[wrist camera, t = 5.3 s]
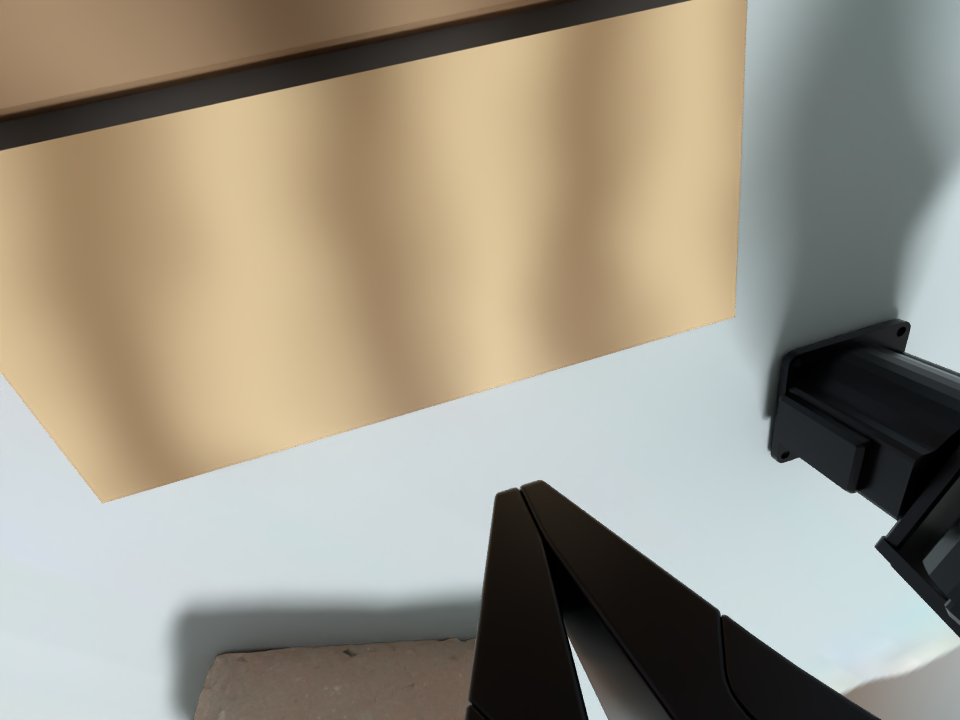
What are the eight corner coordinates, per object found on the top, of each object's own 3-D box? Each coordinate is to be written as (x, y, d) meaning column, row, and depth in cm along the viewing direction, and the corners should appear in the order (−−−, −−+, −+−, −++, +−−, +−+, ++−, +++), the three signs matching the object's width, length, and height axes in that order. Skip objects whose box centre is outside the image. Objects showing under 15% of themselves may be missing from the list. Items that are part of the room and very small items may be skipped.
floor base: (694, -549, 10) (789, -756, 7) (687, 304, 19) (728, 325, 17) (-490, -444, 8) (-846, -687, 5) (149, 459, 17) (114, 507, 14)
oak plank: (710, 5, 13) (747, -13, 12) (707, 305, 18) (735, 317, 16) (-85, 180, 11) (-147, 182, 10) (126, 473, 15) (102, 503, 14)
